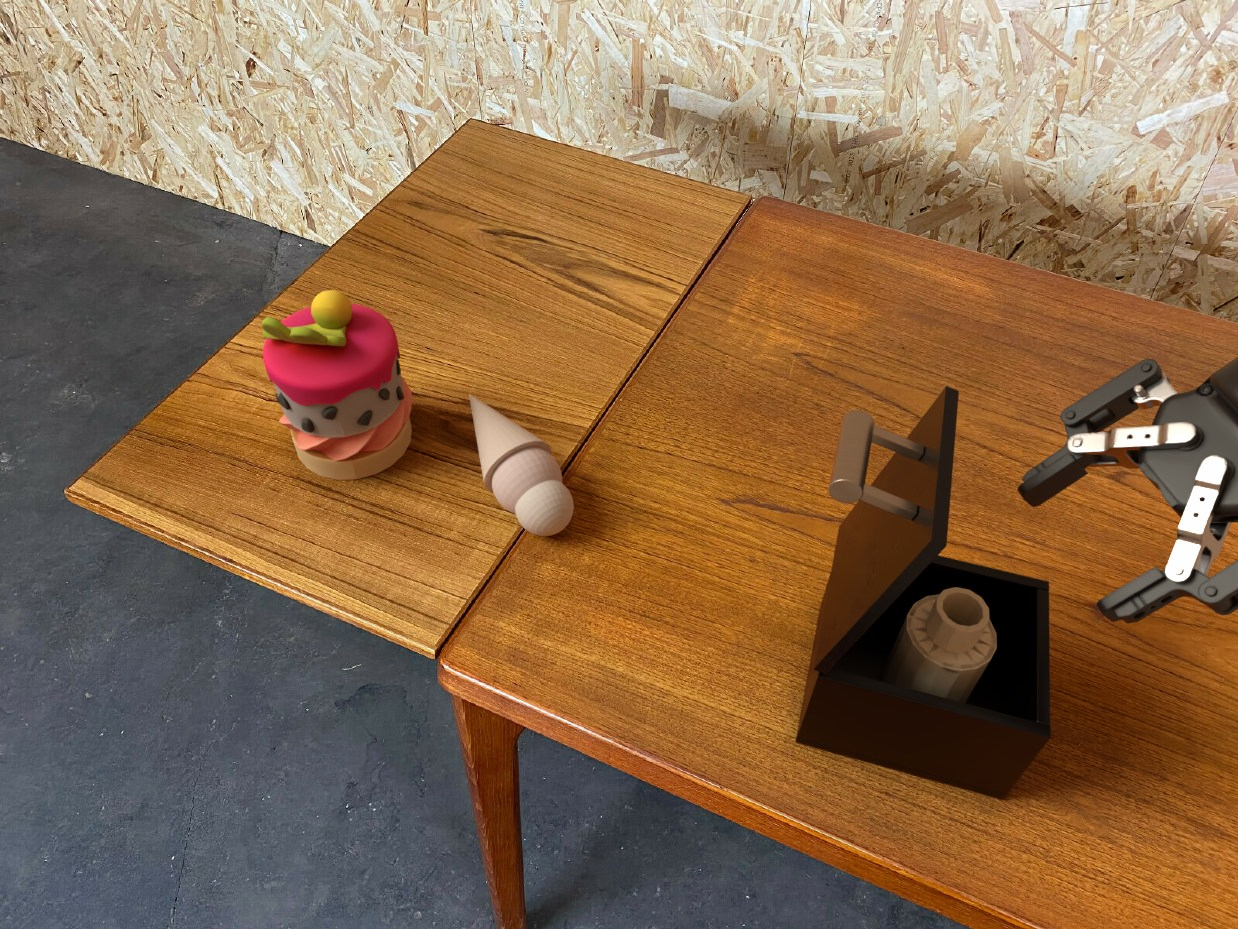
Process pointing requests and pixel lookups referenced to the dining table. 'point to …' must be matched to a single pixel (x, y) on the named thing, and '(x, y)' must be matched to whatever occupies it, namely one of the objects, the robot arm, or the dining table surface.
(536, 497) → the ice cream cone
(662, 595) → the dining table surface
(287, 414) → the cake
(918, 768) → the bin
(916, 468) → the bin lid
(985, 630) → the bottle
